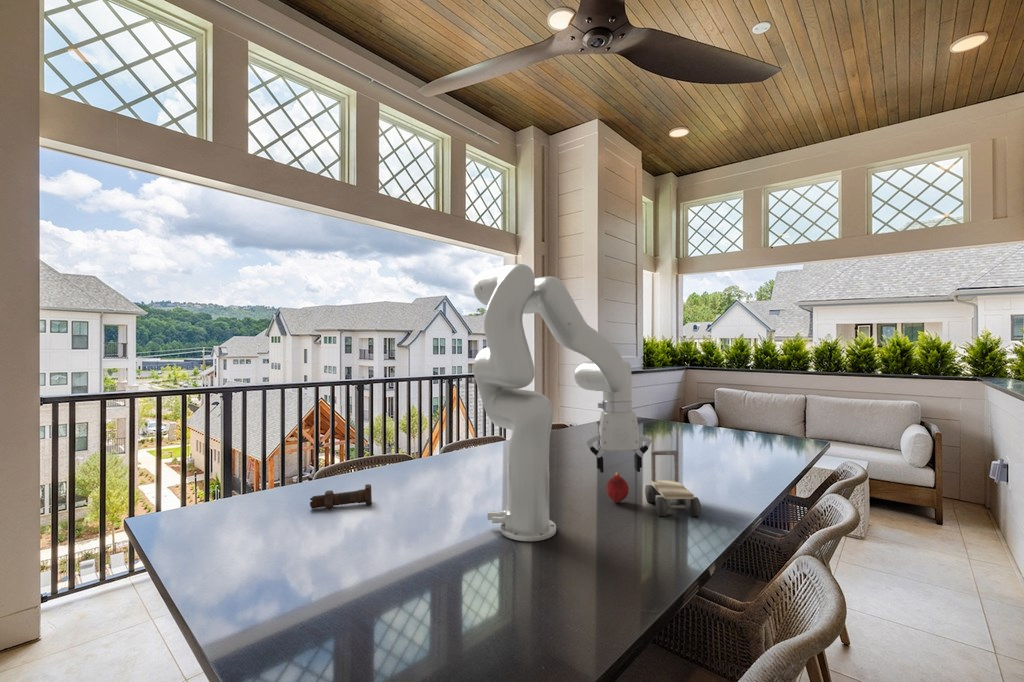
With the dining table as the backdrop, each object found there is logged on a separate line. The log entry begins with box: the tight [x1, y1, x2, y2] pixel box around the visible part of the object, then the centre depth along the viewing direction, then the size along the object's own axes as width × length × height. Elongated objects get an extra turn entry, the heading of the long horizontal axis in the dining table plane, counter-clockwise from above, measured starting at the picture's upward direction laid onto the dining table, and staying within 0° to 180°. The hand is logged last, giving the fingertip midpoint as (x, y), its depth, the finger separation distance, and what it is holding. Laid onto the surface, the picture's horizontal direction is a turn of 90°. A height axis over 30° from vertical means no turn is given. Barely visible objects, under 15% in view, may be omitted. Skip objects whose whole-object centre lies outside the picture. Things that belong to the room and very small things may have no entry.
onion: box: [605, 472, 630, 504], centre depth 125 cm, size 6×6×8 cm
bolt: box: [309, 483, 373, 510], centre depth 123 cm, size 6×5×15 cm
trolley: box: [644, 449, 702, 517], centre depth 121 cm, size 14×10×14 cm, turn 179°
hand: (619, 470), depth 126 cm, fingers open, 9 cm apart
